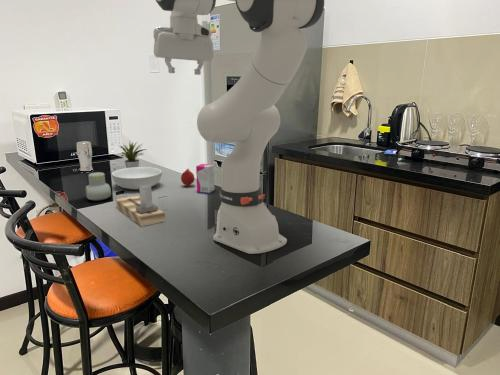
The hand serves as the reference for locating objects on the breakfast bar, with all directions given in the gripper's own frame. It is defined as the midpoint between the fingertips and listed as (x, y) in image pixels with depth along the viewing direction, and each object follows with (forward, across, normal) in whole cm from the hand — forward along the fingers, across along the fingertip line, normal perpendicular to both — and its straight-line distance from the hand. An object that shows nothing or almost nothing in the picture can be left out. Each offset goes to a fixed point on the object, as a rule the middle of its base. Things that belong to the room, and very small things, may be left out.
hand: (184, 73), depth 126 cm
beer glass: (+46, -16, +84) cm, 97 cm away
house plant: (+46, +2, +67) cm, 81 cm away
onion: (+46, +14, +28) cm, 56 cm away
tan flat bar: (+47, -16, +4) cm, 50 cm away
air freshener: (+47, -23, +31) cm, 61 cm away
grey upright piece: (+44, -16, -3) cm, 47 cm away
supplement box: (+46, +16, +16) cm, 52 cm away
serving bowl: (+47, -4, +40) cm, 61 cm away
